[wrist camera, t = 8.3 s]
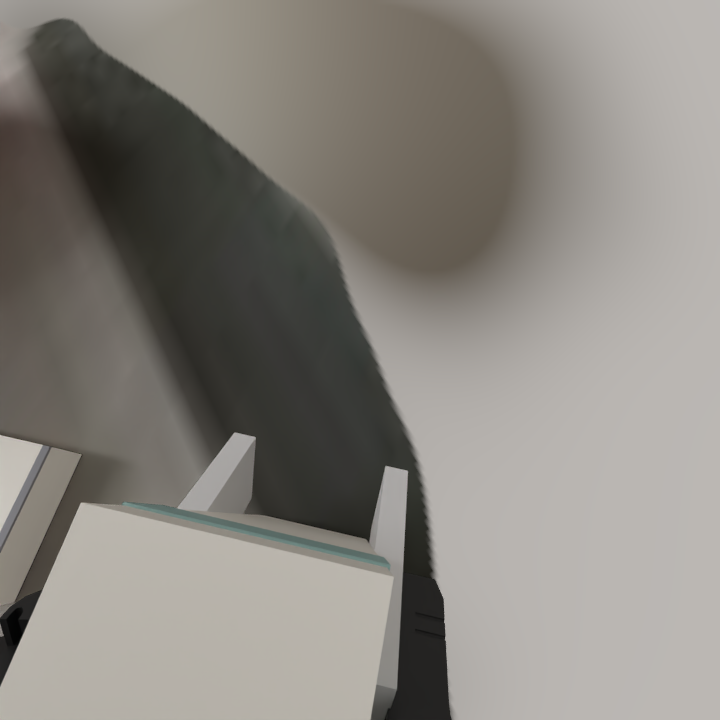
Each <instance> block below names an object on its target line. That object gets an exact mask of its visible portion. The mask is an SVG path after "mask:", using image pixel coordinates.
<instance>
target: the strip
mask: <svg viewBox="0 0 720 720" xmlns="http://www.w3.org/2000/svg"><path fill="white" fill-rule="evenodd" d="M81 455H82V454H78V453H74V452H70V451H66V450H62V449H58V448H54V447H50V446H45V445H41V444H37V443H32V442H28V441H24V440H19V439H15V438H10V437H6V436H2V435H0V606H1V605H6V604H10V603H14V602H15V600H16V598H17V595H18V593H19V591H20V589H21V587H22V584H23V582H24V580H25V578H26V576H27V573H28V571H29V569H30V567H31V565H32V562H33V560H34V558H35V556H36V554H37V552H38V549H39V547H40V545H41V543H42V541H43V538H44V536H45V534H46V532H47V530H48V527H49V525H50V523H51V521H52V519H53V516H54V514H55V512H56V510H57V508H58V505H59V503H60V501H61V499H62V497H63V495H64V492H65V490H66V488H67V486H68V484H69V481H70V479H71V477H72V475H73V473H74V470H75V468H76V466H77V464H78V462H79V459H80V457H81Z"/></svg>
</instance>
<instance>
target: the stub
mask: <svg viewBox="0 0 720 720" xmlns="http://www.w3.org/2000/svg"><path fill="white" fill-rule="evenodd" d="M390 566H391V565H390V564H389V562H388V561H387V560H386V559H385V558H384V557H381V556H378V555H377V553H376V552H375V551H374V549H373V548H372V547H371V545H370V544H369V543H368V541H367V540H366V539H363V538H359V537H355V536H351V535H346V534H342V533H338V532H333V531H329V530H325V529H321V528H316V527H312V526H308V525H303V524H299V523H295V522H291V521H286V520H282V519H278V518H273V517H269V516H265V515H252V514H236V513H222V512H208V511H195V510H182V509H177V508H173V507H169V506H165V505H155V504H143V503H132V502H123V503H122V505H111V504H97V503H83V502H81V504H80V506H79V508H78V510H77V513H76V515H75V517H74V520H73V522H72V524H71V526H70V529H69V531H68V533H67V536H66V538H65V540H64V542H63V545H62V547H61V549H60V552H59V554H58V556H57V558H56V561H55V563H54V565H53V568H52V570H51V572H50V574H49V577H48V579H47V581H46V583H45V586H44V588H43V590H42V593H41V595H40V597H39V599H38V602H37V604H36V606H35V609H34V611H33V613H32V615H31V618H30V620H29V622H28V625H27V627H26V629H25V631H24V634H23V636H22V638H21V640H20V643H19V645H18V647H17V650H16V652H15V654H14V656H13V659H12V661H11V663H10V666H9V668H8V670H7V672H6V675H5V677H4V679H3V682H2V684H1V686H0V720H370V719H371V713H372V707H373V701H374V695H375V689H376V683H377V677H378V671H379V665H380V659H381V652H382V646H383V640H384V634H385V628H386V622H387V616H388V610H389V604H390V598H391V592H392V586H393V579H394V576H393V575H392V574H391V572H390Z"/></svg>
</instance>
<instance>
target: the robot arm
mask: <svg viewBox="0 0 720 720" xmlns="http://www.w3.org/2000/svg"><path fill="white" fill-rule="evenodd" d="M255 441H256V437H253V436H248V435H244V434H239V433H234V434H233V435H232V437H231V438H230V439H229V440H228V442H227V443H226V444H225V446H224V447H223V448H222V450H221V451H220V452H219V454H218V455H217V456H216V458H215V459H214V460H213V461H212V463H211V464H210V465H209V467H208V468H207V469H206V471H205V472H204V473H203V475H202V476H201V477H200V479H199V480H198V481H197V483H196V484H195V485H194V486H193V488H192V489H191V490H190V492H189V493H188V494H187V496H186V497H185V498H184V500H183V501H182V502H181V504H180V505H179V506H178V508H177V509H182V510H195V511H208V512H222V513H236V514H243V513H244V511H245V509H246V507H247V505H248V504H249V502H250V500H251V498H252V484H253V470H254V455H255ZM407 479H408V471H406V470H402V469H397V468H393V467H388V466H386V467H385V471H384V475H383V480H382V484H381V488H380V493H379V497H378V501H377V505H376V510H375V514H374V518H373V523H372V527H371V534H370V541H369V544H370V545H371V547H372V548H373V549H374V551H375V552H376V553H377V555H378V556H381V557H384V558H385V559H386V560H387V561H388V562H389V564H390V565H391V566H390V572H391V574H392V575H393V576H394V579H393V586H392V592H391V598H390V604H389V610H388V616H387V622H386V628H385V634H384V640H383V646H382V652H381V659H380V665H379V671H378V677H377V683H376V689H375V695H374V701H373V707H372V713H371V719H370V720H451V716H450V710H449V698H448V679H447V659H446V641H445V623H444V601H443V597H442V594H441V592H440V590H439V588H438V585H437V583H436V581H435V579H431V578H427V577H422V576H418V575H414V574H410V573H406V572H403V559H404V539H405V519H406V499H407ZM41 593H42V590H41V591H38V592H36V593H33V594H31V595H28V596H26V597H24V598H23V599H21V600H20V601H18V602H17V603H15V604H14V605H12V606H11V607H10V608H9V609H8V610H7V611H6V612H5V613H4V614H3V615H2V616H1V617H0V624H1V627H2V631H3V634H4V636H2V637H0V686H1V684H2V682H3V679H4V677H5V675H6V672H7V670H8V668H9V666H10V663H11V661H12V659H13V656H14V654H15V652H16V650H17V647H18V645H19V643H20V640H21V638H22V636H23V634H24V631H25V629H26V627H27V625H28V622H29V620H30V618H31V615H32V613H33V611H34V609H35V606H36V604H37V602H38V599H39V597H40V595H41Z"/></svg>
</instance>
